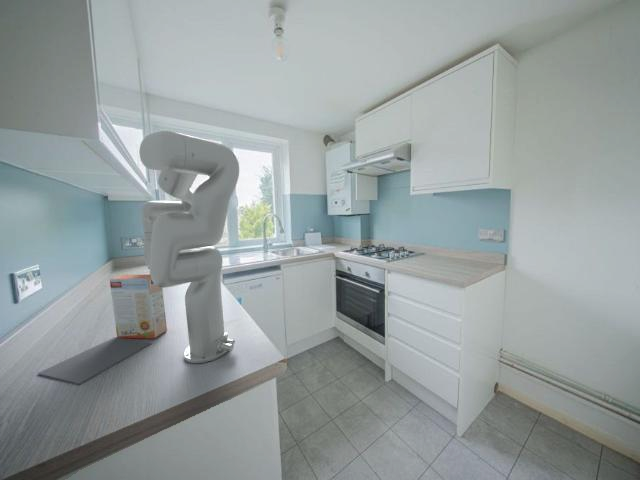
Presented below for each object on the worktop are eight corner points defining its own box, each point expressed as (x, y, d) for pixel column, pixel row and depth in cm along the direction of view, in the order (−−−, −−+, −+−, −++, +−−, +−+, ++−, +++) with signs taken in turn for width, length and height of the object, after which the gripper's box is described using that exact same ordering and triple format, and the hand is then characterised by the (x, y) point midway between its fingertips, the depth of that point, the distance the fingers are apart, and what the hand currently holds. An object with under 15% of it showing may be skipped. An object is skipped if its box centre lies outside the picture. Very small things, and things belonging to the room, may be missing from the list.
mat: (151, 343, 72) (151, 342, 72) (79, 384, 55) (79, 383, 55) (115, 338, 76) (115, 337, 76) (38, 374, 59) (37, 373, 59)
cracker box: (168, 330, 81) (162, 273, 78) (154, 339, 75) (147, 278, 72) (132, 329, 82) (125, 273, 80) (116, 338, 76) (108, 278, 74)
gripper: (181, 235, 85) (186, 282, 87) (151, 235, 89) (156, 281, 91) (163, 237, 78) (168, 289, 80) (131, 237, 82) (137, 286, 84)
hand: (162, 284), depth 85 cm, fingers closed
